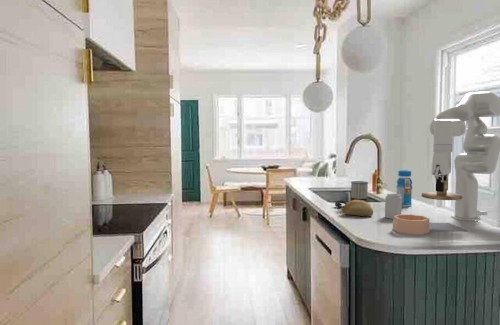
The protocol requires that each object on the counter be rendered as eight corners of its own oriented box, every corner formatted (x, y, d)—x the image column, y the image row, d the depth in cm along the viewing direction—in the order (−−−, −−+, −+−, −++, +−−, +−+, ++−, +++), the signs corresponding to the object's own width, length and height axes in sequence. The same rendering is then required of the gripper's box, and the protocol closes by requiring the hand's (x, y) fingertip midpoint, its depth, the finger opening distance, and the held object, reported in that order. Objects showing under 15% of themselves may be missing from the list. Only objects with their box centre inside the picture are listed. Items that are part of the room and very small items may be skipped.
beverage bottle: (394, 205, 238) (395, 170, 236) (398, 203, 244) (399, 169, 243) (409, 207, 233) (410, 171, 231) (413, 205, 240) (414, 170, 238)
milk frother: (371, 210, 225) (371, 182, 224) (344, 211, 220) (345, 183, 219) (357, 205, 238) (357, 179, 237) (332, 206, 234) (332, 180, 233)
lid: (451, 193, 189) (451, 178, 189) (469, 199, 173) (470, 183, 173) (415, 194, 189) (416, 178, 189) (431, 200, 173) (431, 183, 173)
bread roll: (342, 213, 216) (342, 197, 215) (372, 214, 212) (373, 199, 212) (341, 216, 207) (342, 200, 206) (373, 218, 203) (373, 201, 202)
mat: (449, 223, 190) (449, 222, 190) (468, 232, 173) (468, 231, 173) (413, 223, 190) (413, 222, 190) (430, 232, 173) (430, 231, 173)
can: (402, 220, 197) (403, 195, 196) (385, 219, 199) (386, 194, 198) (400, 217, 204) (400, 193, 204) (384, 216, 206) (384, 192, 205)
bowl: (419, 228, 181) (420, 214, 181) (433, 235, 168) (433, 220, 168) (389, 228, 181) (390, 214, 181) (400, 235, 168) (401, 220, 168)
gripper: (441, 147, 188) (440, 188, 189) (426, 149, 176) (425, 192, 178) (458, 148, 183) (457, 189, 184) (444, 149, 171) (443, 194, 172)
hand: (441, 190), depth 181 cm, fingers closed on lid, 4 cm apart
